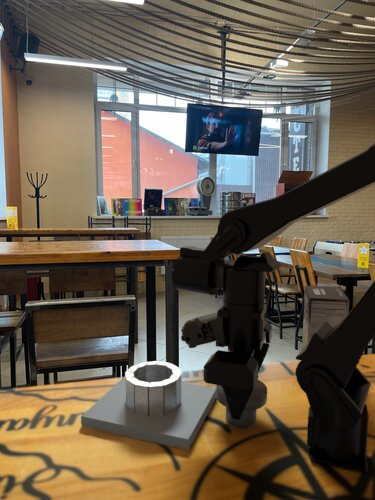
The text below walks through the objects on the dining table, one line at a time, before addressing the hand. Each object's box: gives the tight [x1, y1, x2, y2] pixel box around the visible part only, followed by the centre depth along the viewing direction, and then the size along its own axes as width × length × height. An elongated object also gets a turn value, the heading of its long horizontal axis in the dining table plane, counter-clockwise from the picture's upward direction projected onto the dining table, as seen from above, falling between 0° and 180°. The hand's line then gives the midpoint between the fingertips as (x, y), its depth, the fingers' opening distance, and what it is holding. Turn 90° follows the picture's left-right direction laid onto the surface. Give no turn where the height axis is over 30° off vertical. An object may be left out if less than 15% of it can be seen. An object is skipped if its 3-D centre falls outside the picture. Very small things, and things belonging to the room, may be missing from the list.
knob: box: [216, 379, 268, 430], centre depth 55 cm, size 7×7×5 cm
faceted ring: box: [124, 360, 182, 417], centre depth 58 cm, size 8×8×4 cm
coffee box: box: [301, 285, 350, 350], centre depth 67 cm, size 9×6×16 cm
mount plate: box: [80, 376, 217, 451], centre depth 58 cm, size 16×14×2 cm
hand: (241, 404), depth 55 cm, fingers closed on knob, 7 cm apart
